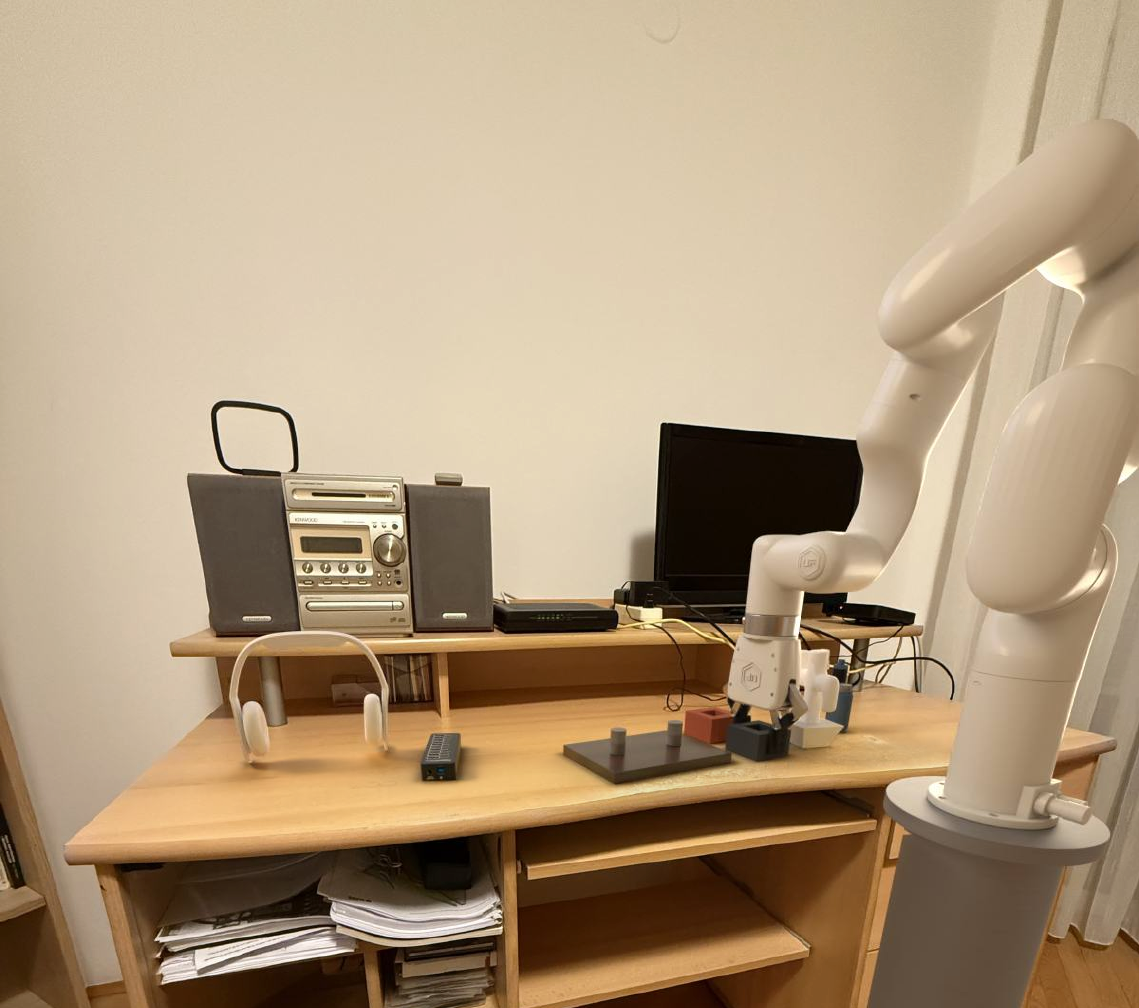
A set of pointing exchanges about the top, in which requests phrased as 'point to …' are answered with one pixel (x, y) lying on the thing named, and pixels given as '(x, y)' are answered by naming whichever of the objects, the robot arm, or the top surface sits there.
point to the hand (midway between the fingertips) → (756, 746)
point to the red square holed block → (708, 724)
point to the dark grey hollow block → (752, 740)
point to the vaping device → (842, 697)
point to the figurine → (816, 701)
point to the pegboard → (645, 754)
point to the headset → (252, 715)
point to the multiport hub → (441, 757)
